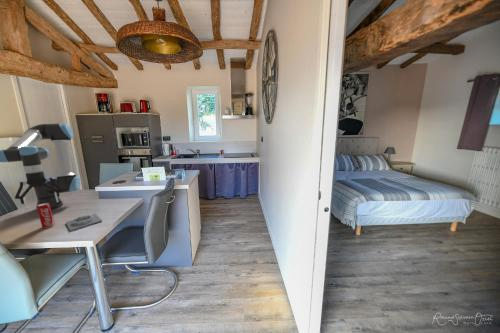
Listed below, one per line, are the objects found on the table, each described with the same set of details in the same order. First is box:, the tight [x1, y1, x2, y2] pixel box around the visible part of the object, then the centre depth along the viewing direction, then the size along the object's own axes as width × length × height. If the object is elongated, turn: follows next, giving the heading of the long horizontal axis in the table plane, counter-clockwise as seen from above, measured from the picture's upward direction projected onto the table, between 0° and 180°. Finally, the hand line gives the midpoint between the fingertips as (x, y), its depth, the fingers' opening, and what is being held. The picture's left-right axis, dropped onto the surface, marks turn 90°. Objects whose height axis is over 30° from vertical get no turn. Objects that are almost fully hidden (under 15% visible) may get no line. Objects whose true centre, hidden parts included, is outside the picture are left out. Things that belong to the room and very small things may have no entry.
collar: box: [72, 214, 94, 225], centre depth 133 cm, size 10×10×2 cm
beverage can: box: [36, 203, 55, 229], centre depth 128 cm, size 6×6×15 cm
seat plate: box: [65, 213, 103, 232], centre depth 133 cm, size 16×16×1 cm
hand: (42, 205), depth 126 cm, fingers open, 13 cm apart
